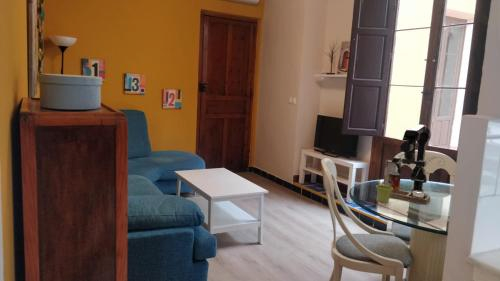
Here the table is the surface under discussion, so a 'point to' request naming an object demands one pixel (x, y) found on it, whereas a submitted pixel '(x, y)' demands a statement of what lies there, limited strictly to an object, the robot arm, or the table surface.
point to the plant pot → (383, 193)
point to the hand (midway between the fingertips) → (407, 175)
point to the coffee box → (389, 170)
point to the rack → (408, 196)
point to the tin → (418, 194)
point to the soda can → (394, 180)
